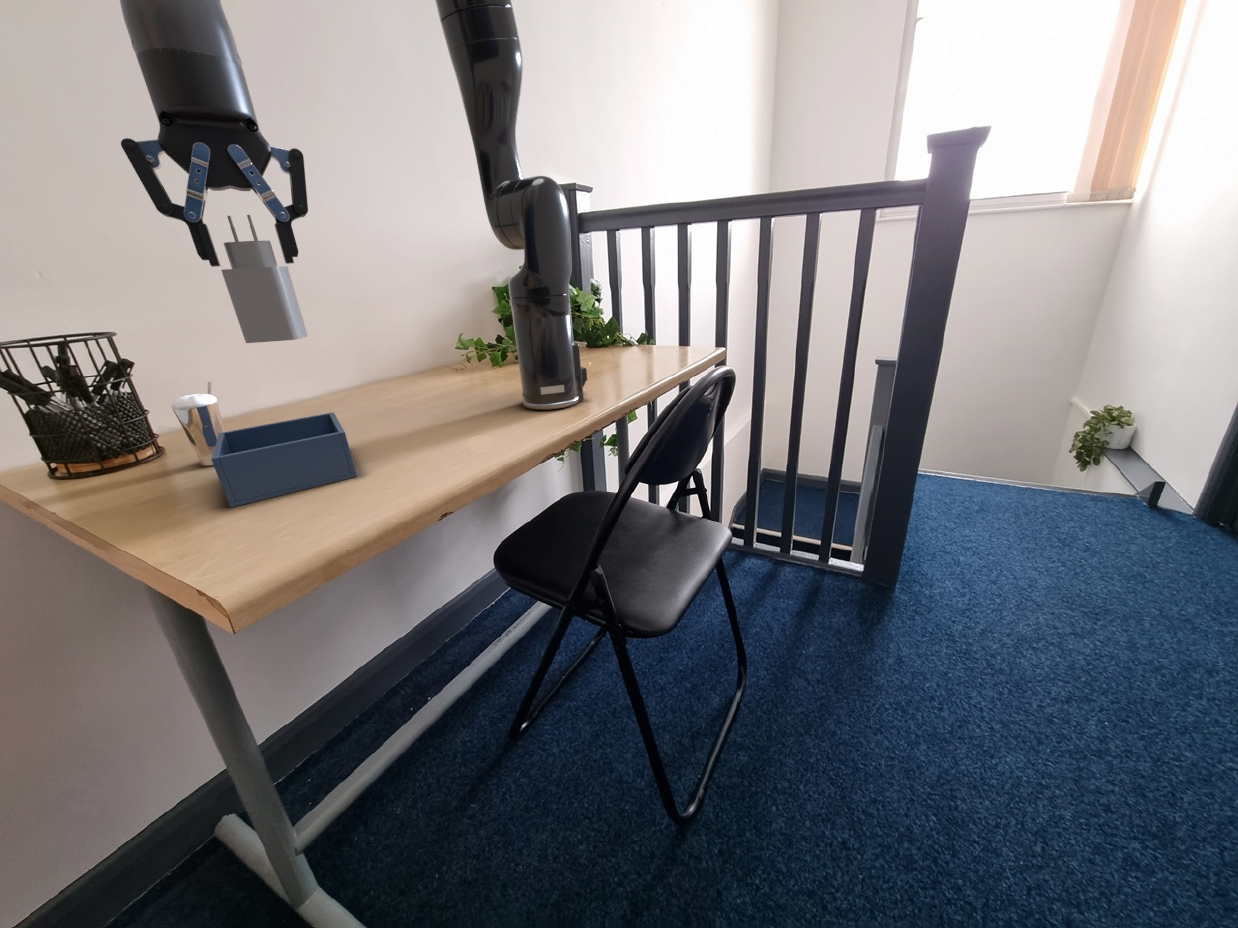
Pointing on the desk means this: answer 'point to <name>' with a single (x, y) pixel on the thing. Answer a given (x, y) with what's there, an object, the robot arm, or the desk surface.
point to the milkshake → (200, 422)
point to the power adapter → (261, 291)
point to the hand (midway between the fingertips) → (254, 264)
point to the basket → (282, 458)
